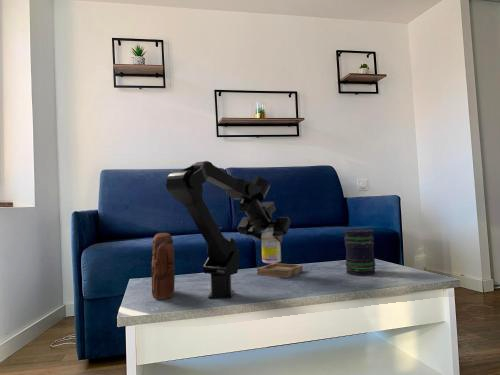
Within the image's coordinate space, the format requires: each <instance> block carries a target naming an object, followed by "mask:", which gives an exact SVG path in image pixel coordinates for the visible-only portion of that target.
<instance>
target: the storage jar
mask: <svg viewBox="0 0 500 375" xmlns="http://www.w3.org/2000/svg"><path fill="white" fill-rule="evenodd" d="M374 241H375V237H374V229H369V228H351V229H344V247H345V253H346V254H345V256H346V257H345V267H346V268H345V269H346V272H345V273H346V274H347V275H348V276H355V277H371V276H375V275H376V262H375V261H376V260H375V252H374V246H375V242H374Z"/></svg>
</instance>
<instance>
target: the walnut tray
mask: <svg viewBox="0 0 500 375" xmlns="http://www.w3.org/2000/svg"><path fill="white" fill-rule="evenodd" d="M256 270H257V274H256V275H258V276H265V277H266V276H268V277H275V278H276V277H277V278H285V279H287V278H290V277H293V276H295V275H297V274H299V273H301V272H303V265H302V264H293V263H292V264H290V263H281V262H278V263H268V264H267V265H264V266H260V267H258V268H257V269H256Z"/></svg>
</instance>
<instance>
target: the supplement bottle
mask: <svg viewBox="0 0 500 375" xmlns="http://www.w3.org/2000/svg"><path fill="white" fill-rule="evenodd" d="M263 231H264V232H262V235H261V240H260V242H261V261H262V262H263V263H265V264H272V263H281V262H282V251H281V250H282V248H281V242H279V241H278V240H277V239H276V238H275V237H273V236H272V235H273V228H267V229H265V230H263Z"/></svg>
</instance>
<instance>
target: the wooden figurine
mask: <svg viewBox="0 0 500 375" xmlns="http://www.w3.org/2000/svg"><path fill="white" fill-rule="evenodd" d="M151 249H152V256H151V257H152V260H151V294H152V297H153V298H155V300H164V299H165V300H166V299H170V298H172V297H173V296H174V295H175V280H176V279H175V278H176V276H175V274H176V273H175V271H176V270H175V248H174V240H173V237H172V235H171V234H170V233H168V232H158V233H156V234H155V235H154V237H153V238H152V248H151Z"/></svg>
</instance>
